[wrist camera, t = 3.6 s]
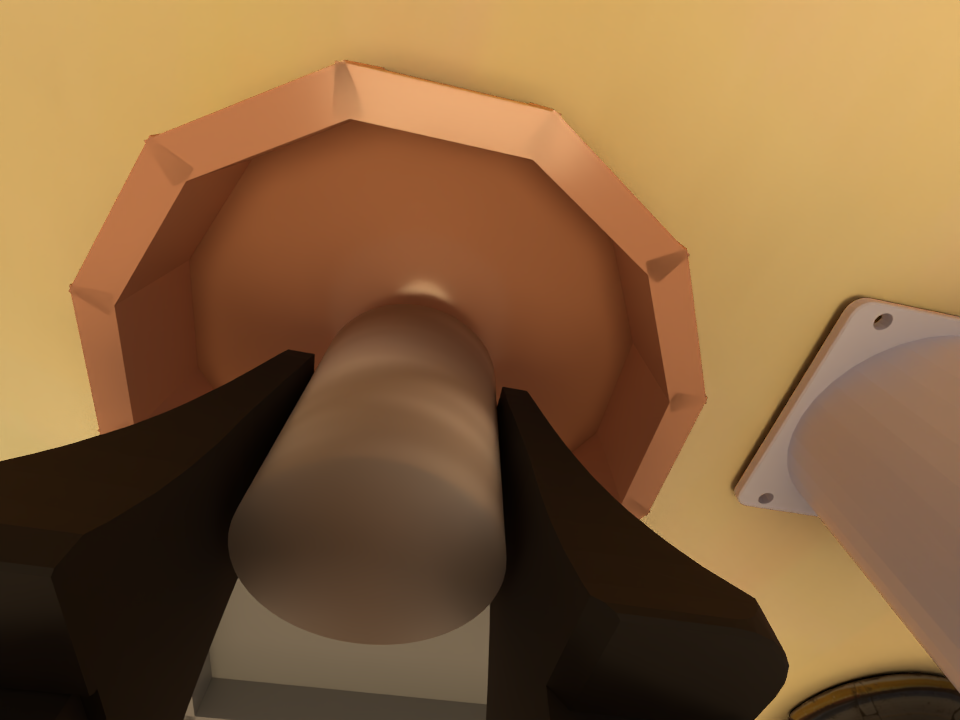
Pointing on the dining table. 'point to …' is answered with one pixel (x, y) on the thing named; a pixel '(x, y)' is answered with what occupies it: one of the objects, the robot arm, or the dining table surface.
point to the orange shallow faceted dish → (397, 259)
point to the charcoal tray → (336, 672)
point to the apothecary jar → (885, 700)
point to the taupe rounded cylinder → (382, 487)
